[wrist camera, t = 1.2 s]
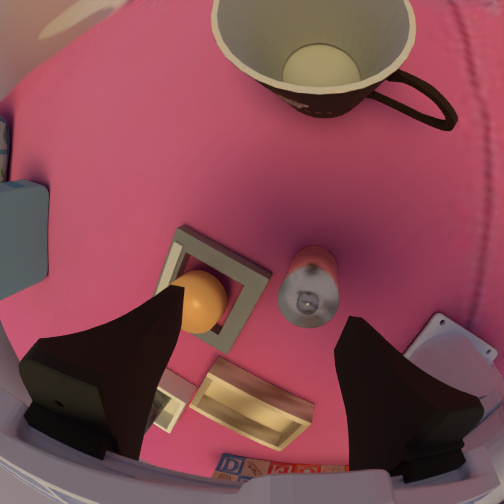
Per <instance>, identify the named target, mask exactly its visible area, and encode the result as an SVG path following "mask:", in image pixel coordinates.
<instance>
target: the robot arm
mask: <svg viewBox="0 0 504 504" xmlns="http://www.w3.org/2000/svg"><path fill="white" fill-rule="evenodd" d="M184 291H185V287H181V286H176V285H172V284H171V285H169V286H168V287H166V288H165V289H163V290H162V291H161V292H159V293H158V294H157V295H155V296H154V297H152V298H151V299H149V300H148V301H146V302H145V303H143V304H142V305H140V306H139V307H137V308H135V309H134V310H132V311H130V312H129V313H127V314H125V315H123V316H121V317H119V318H117V319H115V320H113V321H110V322H108V323H106V324H103V325H100V326H97V327H94V328H91V329H89V330H85V331H82V332H78V333H73V334H69V335H64V336H57V337H49V338H40V339H39V340H38V341H37V342H36V343H35V344H34V345H33V346H32V348H31V349H30V350H29V351H28V352H27V354H26V355H25V356H24V357H23V359H22V360H21V361H20V363H19V373H20V376H21V378H22V381H23V383H24V385H25V387H26V389H27V390H28V393H29V395H30V396H31V399H32V400H33V402H32V403H31V405H30V406H29V407H28V406H27V405H26V404H25V403H24V402H23V401H21V400H20V399H18V398H17V397H15V396H13V395H12V394H10V393H9V392H7V391H5V390H4V389H1V388H0V466H1V467H2V468H3V469H5V470H6V471H8V472H9V473H10V474H12V475H13V476H15V477H16V478H18V479H19V480H21V481H22V482H24V483H25V484H27V485H28V486H30V487H31V488H33V489H35V490H37V491H38V492H40V493H41V494H43V495H44V496H46V497H48V498H50V499H51V500H53V501H55V502H57V503H59V504H504V379H503V377H502V375H501V374H500V372H499V371H498V369H497V368H496V366H495V365H494V363H493V362H492V361H493V360H494V359H495V358H496V356H497V354H498V352H497V350H496V349H495V348H493V347H492V346H490V345H489V344H487V343H486V342H484V341H483V340H481V339H480V338H478V337H477V336H475V335H474V334H472V333H471V332H469V331H468V330H466V329H465V328H463V327H462V326H460V325H459V324H457V323H455V322H454V321H452V320H451V319H449V318H448V317H446V316H445V315H443V314H441V313H436V314H434V315H433V317H432V318H431V319H430V321H429V322H428V324H427V325H426V326H425V328H424V329H423V330H422V332H421V333H420V334H419V336H418V337H417V338H416V339H415V341H414V342H413V343H412V345H411V346H410V347H409V348H408V350H407V351H406V352H405V353H404V354H403V355H402V354H401V353H400V352H399V351H397V350H396V349H395V348H394V347H393V346H392V345H391V344H390V343H389V342H388V341H387V340H386V339H384V338H383V337H382V336H381V335H380V334H379V333H378V332H377V331H376V330H375V329H374V328H373V327H372V326H371V325H370V324H369V323H367V322H366V321H365V320H364V319H363V318H361V317H353V316H349V318H348V320H347V322H346V325H345V327H344V329H343V332H342V334H341V336H340V338H339V340H338V343H337V345H336V347H335V349H334V357H335V367H336V372H337V376H338V381H339V385H340V389H341V393H342V397H343V401H344V405H345V409H346V415H347V423H348V435H349V471H345V472H326V473H272V474H267V475H262V476H257V477H254V478H252V479H251V480H249V481H248V482H237V481H229V480H222V479H215V478H209V477H203V476H197V475H192V474H187V473H182V472H178V471H173V470H169V469H165V468H161V467H157V466H154V465H150V464H146V463H143V462H139V461H138V460H139V455H140V451H141V446H142V441H143V437H144V433H145V429H146V425H147V421H148V417H149V414H150V410H151V406H152V403H153V399H154V396H155V393H156V390H157V387H158V384H159V382H160V380H161V377H162V375H163V373H164V371H165V368H166V366H167V364H168V362H169V359H170V357H171V355H172V353H173V350H174V348H175V346H176V343H177V340H178V337H179V333H180V330H181V326H182V315H183V303H184ZM441 320H444V321H443V322H442V323H440V321H441ZM488 350H489V351H488ZM487 351H488V352H487Z"/></svg>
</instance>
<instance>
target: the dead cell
mask: <svg viewBox="0 0 504 504" xmlns="http://www.w3.org/2000/svg"><path fill="white" fill-rule="evenodd" d="M171 399H172V398H170V397H169V396H167V395H166V394H164V393H163V392H161V391H160V390H158V389H157V390H156V393H155V396H154V399H153V403H152V406H151V410H150V414H149V417H148V421H147V425H146V429H145V433H146V432H147V431H148V429H149V428H150V427H151V425H152V424H153V423H154V421H155V420H156V419H157V417H158V416H159V415H160V413H161V412H162V411H163V410H164V408H165V407H166V406H167V404H168V403H169V402H170V400H171ZM145 433H144V435H145Z"/></svg>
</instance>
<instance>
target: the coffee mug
mask: <svg viewBox="0 0 504 504" xmlns="http://www.w3.org/2000/svg"><path fill="white" fill-rule="evenodd" d="M211 25H212V32H213V34H214V37H215V40H216V43H217V45H218V46H219V48H220V49H221V51H222V52H223V54H224V55H225V57H226V58H227V59H228V60H229V61H231V62H232V63H233V64H234V65H235V66H236V67H237V68H238V69H239V70H241V71H242V72H244V73H245V74H247V75H248V76H250V77H251V78H253V79H254V80H256V81H257V82H259V83H260V84H262V85H263V86H265V87H266V88H268V89H269V90H270V91H272V92H273V93H275V94H276V95H277V96H279V97H280V98H281V99H283V100H284V101H286V102H287V103H288V104H290V105H291V106H292V107H294V108H295V109H296V110H298V111H299V112H302V113H304V114H306V115H309V116H312V117H317V118H333V117H337V116H341V115H343V114H345V113H347V112H349V111H350V110H352V109H353V108H354V107H355V106H357V105H358V104H359V103H360V102H361V101H362V100H363V99H364V98H365V97H367V98H371V99H375V100H377V101H379V102H381V103H384V104H386V105H388V106H390V107H392V108H394V109H396V110H398V111H400V112H402V113H404V114H406V115H408V116H410V117H412V118H414V119H416V120H418V121H420V122H423V123H425V124H427V125H429V126H432V127H434V128H437V129H440V130H443V131H451V130H452V129H453V128H454V126H455V125H456V123H457V121H458V117H457V114H456V112H455V110H454V109H453V107H452V106H451V105H450V103H449V102H448V101H447V100H446V99H445V97H444V96H443V95H442V94H441V93H440V92H439V91H437V90H436V89H435V88H434V87H433V86H432V85H430V84H429V83H427V82H425V81H423V80H421V79H419V78H417V77H415V76H413V75H411V74H409V73H407V72H404V71H402V70H400V69H398V68H399V67H400V66H401V65H402V63H403V62H404V61H405V60H406V59H407V58H408V56H409V54H410V51H411V49H412V47H413V45H414V42H415V35H416V21H415V14H414V11H413V9H412V6H411V4H410V1H409V0H214V2H213V6H212V12H211ZM385 80H388V81H391V82H401V83H405V84H407V85H409V86H412V87H414V88H415V89H417V90H418V91H420V92H422V93H423V94H425V95H426V96H427V97H429V98H430V99H431V100H432V101H433V102H434V103H435V104H436V105H437V106H438V107H439V108H440V110H441V111H442V113H443V114H444V116H445V119H446V120H441V119H437V118H434V117H431V116H428V115H425V114H422V113H420V112H418V111H416V110H414V109H412V108H410V107H408V106H406V105H404V104H402V103H399V102H397V101H395V100H393V99H391V98H389V97H387V96H384V95H382V94H380V93H378V92H376V91H374V89H376V88H377V87H378V86H379V85H380V84H381V83H382V82H384V81H385Z"/></svg>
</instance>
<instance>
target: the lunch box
mask: <svg viewBox="0 0 504 504" xmlns="http://www.w3.org/2000/svg"><path fill="white" fill-rule="evenodd" d="M9 145H10V133H9V127H8V124H7V122H6V120H5V119H4V118H3V117H1V116H0V183H3V182H6V174H7V165H8V157H9Z"/></svg>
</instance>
